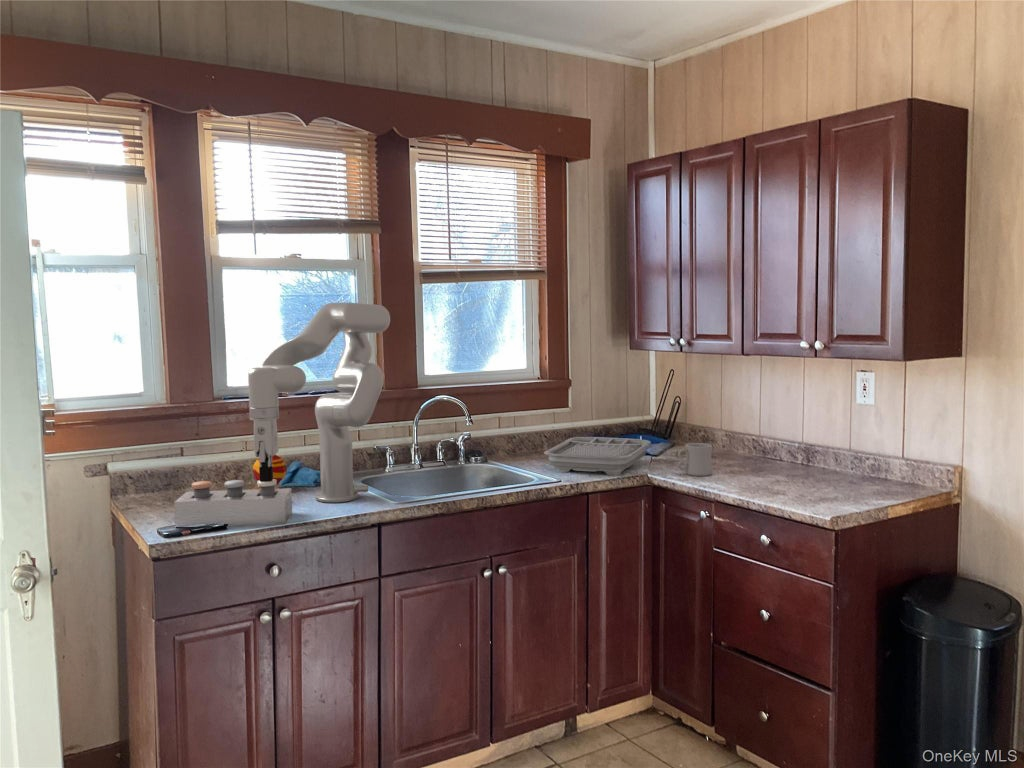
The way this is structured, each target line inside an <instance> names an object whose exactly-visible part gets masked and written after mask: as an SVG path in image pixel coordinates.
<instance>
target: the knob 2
mask: <svg viewBox="0 0 1024 768" xmlns="http://www.w3.org/2000/svg"><path fill="white" fill-rule="evenodd" d="M256 481H257V480H256ZM276 484H277V480H275V479H273V480H272V481H269V482H260V480H259V481H257V482H256V486H257V485H258V486H259V490H260V496H273V495H275V485H276Z"/></svg>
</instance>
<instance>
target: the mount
mask: <svg viewBox="0 0 1024 768" xmlns="http://www.w3.org/2000/svg"><path fill="white" fill-rule="evenodd" d="M292 493H293V491H292V487H291V488H289V487H287V488H285V487H284V488H279V489H275V495H273V496H260V490H259V489H253V488H252V489H243V497H227V489H225V490H210V498H194V490H193V491H186V492H185V493H183V494H182V495H181V496H180V497H179V498H177V499H176V500H175V501H174V521H175V522H174V526H175V528H176V527H177V526H185V525H195V524H209V523H210V524H211V523H225V524H228V526H227V527H241V526H266V525H267V526H268V525H286V524H287V523H288V522H289V519H290V518H291V516H292V514H293V494H292Z"/></svg>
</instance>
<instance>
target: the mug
mask: <svg viewBox="0 0 1024 768" xmlns="http://www.w3.org/2000/svg"><path fill="white" fill-rule="evenodd" d="M682 452H685V465H684V466H681V464H682V463H683V462H684V457H683V456H682V455H681V453H682ZM712 452H713V445H712V444H710V443H703V442H690V443H686V444H685V445H684V448H681V449H679V450H678V451H677V457H678V458H679V459H680V460H679V461H678V462H677V467H678V469H679V470H681V471H684V472H685V475H688V476H694V477H706V476H711V475H712V474H713V463H712Z"/></svg>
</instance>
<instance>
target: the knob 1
mask: <svg viewBox="0 0 1024 768" xmlns="http://www.w3.org/2000/svg"><path fill="white" fill-rule="evenodd" d="M212 485H213V484H212V481H209V480H200V481H194V482H191V488H192V489H193V491H194V498H210V491H211V487H212Z"/></svg>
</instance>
